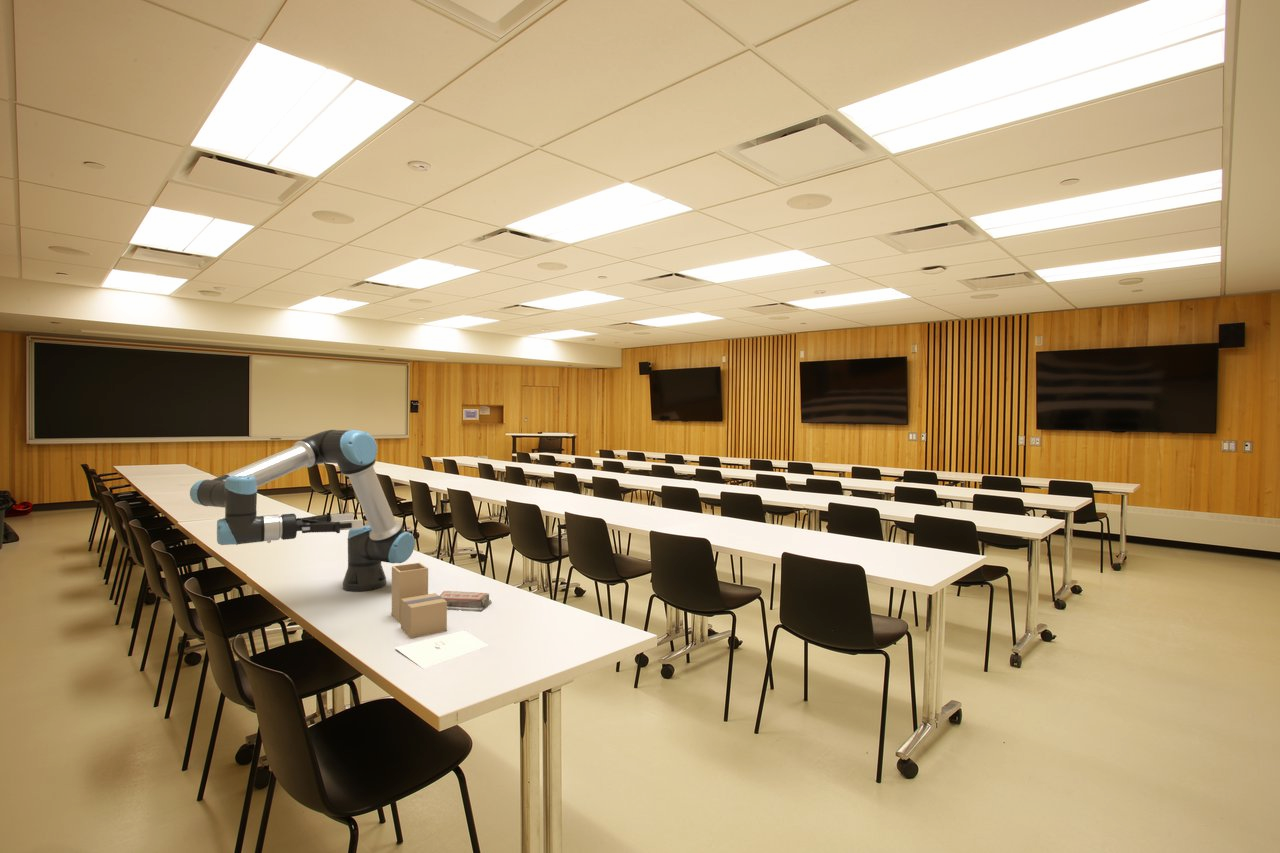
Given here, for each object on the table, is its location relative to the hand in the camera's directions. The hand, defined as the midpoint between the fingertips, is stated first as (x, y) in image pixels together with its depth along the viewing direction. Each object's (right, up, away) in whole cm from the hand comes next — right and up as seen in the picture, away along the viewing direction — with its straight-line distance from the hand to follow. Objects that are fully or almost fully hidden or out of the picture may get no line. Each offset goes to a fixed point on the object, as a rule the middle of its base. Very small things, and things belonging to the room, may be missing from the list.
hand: (358, 520), depth 190 cm
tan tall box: (+14, -32, +5) cm, 36 cm away
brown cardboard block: (+23, -32, -7) cm, 41 cm away
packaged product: (+28, -33, +16) cm, 46 cm away
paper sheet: (+38, -34, -26) cm, 57 cm away
